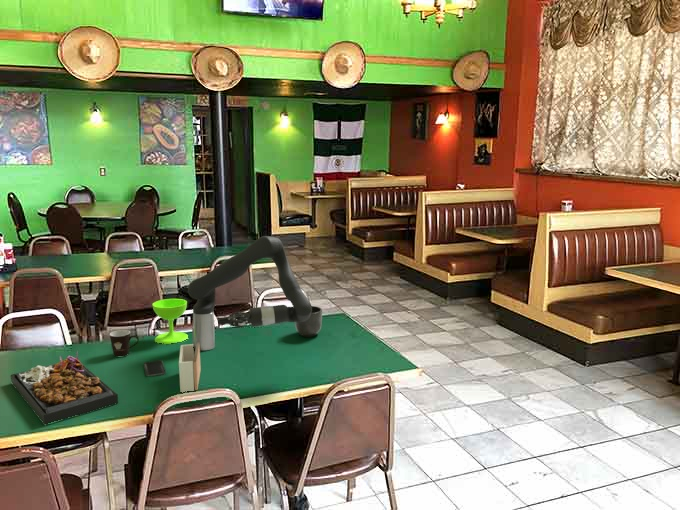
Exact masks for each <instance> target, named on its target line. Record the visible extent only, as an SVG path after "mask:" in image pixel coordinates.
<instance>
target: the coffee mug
mask: <svg viewBox="0 0 680 510" xmlns="http://www.w3.org/2000/svg"><path fill="white" fill-rule="evenodd" d="M109 338H110V343H111V349H112V353H113V356H114V357H115V356H124V357H126V356H125V355H127V354H129V355H130V349H131V348H133V347H135V346H136V345H137V344H138V343H139V341H140V340H139V337H138V336H137V335H131V331H130V330H127V329H119V330H115V331H111V332H110V333H109ZM132 338H136V339H137V341H136V343H134V344H132V345H131V346H130V344H131V343H130V341H131V339H132ZM127 356H128V355H127Z"/></svg>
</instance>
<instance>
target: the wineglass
mask: <svg viewBox="0 0 680 510" xmlns="http://www.w3.org/2000/svg"><path fill="white" fill-rule="evenodd" d="M187 304H188V301H187V300H185V299H181V298H166V299H159V300H156V301H154V302H153V303H152V304H151V305H152V309H153V312H154V313H155V314H156V315H157V316H158V317H159V318H160V319H162V320H166V321H167V320H168V332H163V333H161V334H159V335H157V336H156V337H155V338H154V342H155V343H156V342H157V343H156V344H159V343H162V344H161V345H166V344H169V345H172V344H171V343H177V342H182V341H184V340H186V339H188V340H189V338H188V336H189V335H188V334H187V333H185V332H181V331H174V320H176V319H178V318H180V317H181V316H183V315H184V313H185V312H186V309H187ZM186 341H187V340H186ZM184 342H185V341H184ZM163 343H164V344H163ZM182 343H183V342H182Z"/></svg>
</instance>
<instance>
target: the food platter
mask: <svg viewBox="0 0 680 510" xmlns="http://www.w3.org/2000/svg"><path fill="white" fill-rule="evenodd" d="M78 355H79V354H78V350H76V357H73V356H71V355H67V357H66V359H62V357H61V355H59V362H57V363H55V364H50V365H47V366H43V365H36V367H31V368H30V369H29V370H26V371H21V372H16V373H12V374H10V382H12V383H13V385H14V386H15V387H16V389H17V390H18V391H19V393H20V394H21V395H22V396H23V398H24V399H25V400H26V401H27V402H28V404H29V405H30V406H31V408H32V409H33V410H34V411H35V413H36V414H37V415H38V416H39V418H40V419H41V420H42V421H43V423H44V424H48V423H51V422H54V421H58V420H61V419H65V418H68V417H72V416H75V415H79V416H81V415H80V414H83V413H86V414H88V413H87V412H89V413H91V412H90V411H93V410H96V409H99V408H102V407H105V406H109V405H112V404H115V403H118V404H119V397H118V394H117V392H115V390H113V389H112V388H111V387H110V386H108V385H107V384H106V383H105V382H104V381H102V380H101V379H100V377H98V376H96V374H94V373H93V372H92V371H91V370H90V369H88V368H87V367H86V366H85V365H83V364H82V362H81V361H80V360H79V356H78ZM13 385H12V386H13ZM14 386H13V387H14ZM16 389H15V390H16ZM17 390H16V391H17ZM18 391H17V392H18ZM19 393H18V394H19ZM20 394H19V395H20ZM21 395H20V396H21ZM22 396H21V397H22ZM23 398H22V399H23ZM24 399H23V400H24ZM25 400H24V401H25ZM28 404H27V405H28ZM29 405H28V406H29ZM112 406H113V405H112ZM109 407H110V406H109ZM31 408H30V409H31ZM32 409H31V410H32ZM102 409H103V408H102ZM33 410H32V411H33ZM99 410H100V409H99ZM96 411H97V410H96ZM93 412H94V411H93ZM35 413H34V414H35ZM36 414H35V415H36ZM37 415H36V416H37ZM83 415H84V414H83ZM39 418H38V419H39ZM40 419H39V420H40ZM41 420H40V421H41ZM43 423H42V424H43ZM44 424H43V425H44Z"/></svg>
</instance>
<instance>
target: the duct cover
mask: <svg viewBox="0 0 680 510" xmlns="http://www.w3.org/2000/svg"><path fill="white" fill-rule="evenodd" d="M194 349H195V348H194ZM193 362H194V391H198V388H199V382H200V376H201V372H202V371H201V368H202V367H201V350H200V346H199V343H197V344H196V349H195V351H194V360H193Z"/></svg>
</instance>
